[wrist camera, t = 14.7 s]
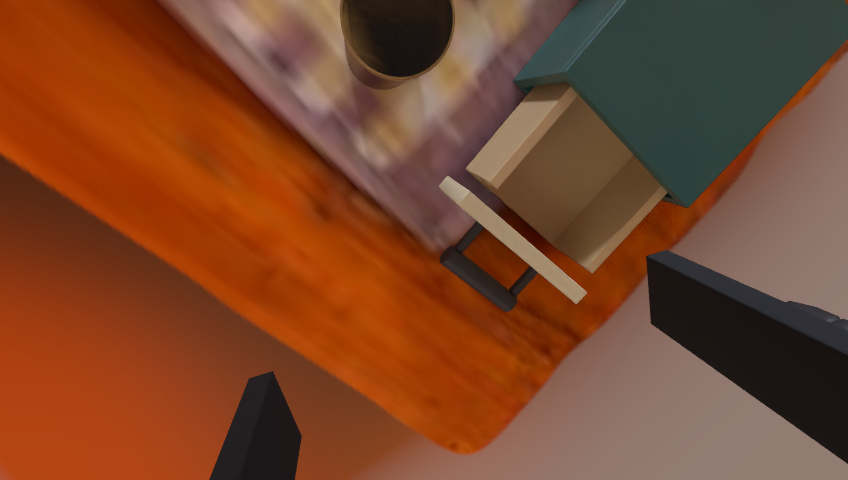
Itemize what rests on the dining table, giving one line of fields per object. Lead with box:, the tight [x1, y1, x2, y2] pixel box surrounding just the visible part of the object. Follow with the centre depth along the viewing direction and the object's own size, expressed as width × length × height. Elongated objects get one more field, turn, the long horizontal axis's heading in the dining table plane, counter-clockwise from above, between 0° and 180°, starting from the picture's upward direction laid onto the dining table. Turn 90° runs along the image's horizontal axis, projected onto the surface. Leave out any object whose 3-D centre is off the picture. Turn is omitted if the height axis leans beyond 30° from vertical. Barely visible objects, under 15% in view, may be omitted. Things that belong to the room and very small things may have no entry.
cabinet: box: [513, 0, 848, 208], centre depth 30 cm, size 16×14×9 cm
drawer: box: [438, 82, 668, 312], centre depth 32 cm, size 19×12×7 cm, turn 140°
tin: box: [340, 0, 455, 90], centre depth 25 cm, size 5×5×12 cm
